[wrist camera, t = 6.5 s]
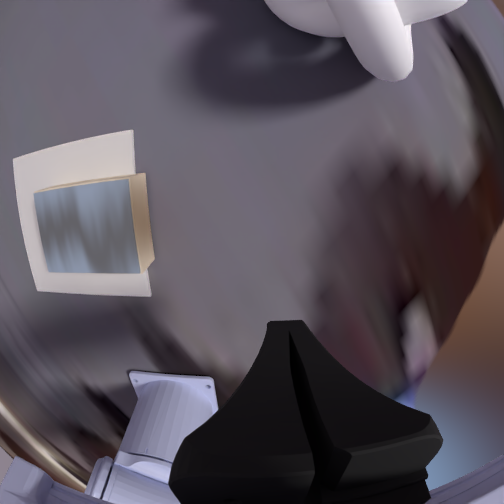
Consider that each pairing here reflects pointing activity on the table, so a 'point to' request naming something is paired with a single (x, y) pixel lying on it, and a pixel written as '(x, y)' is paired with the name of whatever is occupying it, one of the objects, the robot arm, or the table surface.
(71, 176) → the white mat
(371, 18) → the white torus knot
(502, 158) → the table surface
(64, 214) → the blue tan block
